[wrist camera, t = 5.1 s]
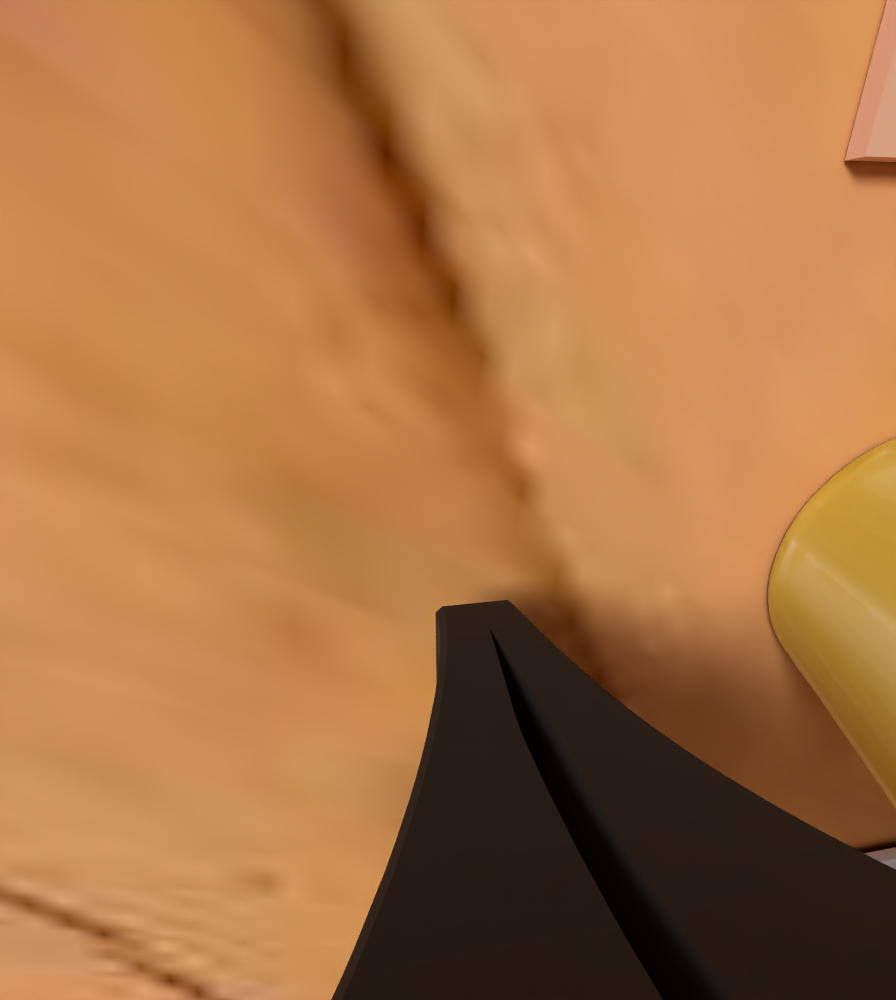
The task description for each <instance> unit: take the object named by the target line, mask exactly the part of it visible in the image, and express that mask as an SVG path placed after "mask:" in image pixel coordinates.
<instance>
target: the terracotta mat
mask: <svg viewBox="0 0 896 1000" xmlns="http://www.w3.org/2000/svg"><path fill="white" fill-rule="evenodd" d="M845 161H880V162H896V0H887V2H886V6H885V10H884V13H883V17H882V21H881V25H880V28H879V32H878V36H877V40H876V44H875V47H874V51H873V55H872V59H871V63H870V66H869V70H868V74H867V78H866V81H865V85H864V89H863V93H862V97H861V100H860V104H859V108H858V112H857V116H856V119H855V123H854V127H853V131H852V134H851V138H850V142H849V146H848V150H847V153H846V157H845Z"/></svg>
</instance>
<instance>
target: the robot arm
mask: <svg viewBox="0 0 896 1000" xmlns="http://www.w3.org/2000/svg"><path fill="white" fill-rule="evenodd" d="M436 667H437V685H436V692H435V698H434V703H433V708H432V713H431V718H430V723H429V728H428V733H427V738H426V742H425V746H424V750H423V754H422V758H421V762H420V765H419V769H418V773H417V776H416V779H415V783H414V786H413V790H412V793H411V797H410V800H409V803H408V806H407V809H406V812H405V815H404V818H403V821H402V824H401V827H400V830H399V833H398V836H397V839H396V842H395V845H394V848H393V851H392V854H391V856H390V859H389V862H388V865H387V867H386V870H385V873H384V875H383V878H382V880H381V883H380V885H379V888H378V890H377V893H376V895H375V898H374V900H373V903H372V905H371V908H370V910H369V913H368V915H367V918H366V920H365V923H364V925H363V928H362V930H361V933H360V935H359V938H358V940H357V943H356V945H355V948H354V950H353V952H352V955H351V957H350V959H349V962H348V964H347V966H346V969H345V971H344V973H343V976H342V978H341V980H340V982H339V984H338V986H337V989H336V991H335V993H334V995H333V997H332V1000H896V847H894V848H889V849H884V850H878V851H873V852H868V853H862V852H860V851H858V850H856V849H855V848H853V847H851V846H849V845H847V844H845V843H843V842H841V841H839V840H837V839H835V838H833V837H831V836H829V835H828V834H826V833H824V832H822V831H820V830H818V829H816V828H814V827H813V826H811V825H809V824H807V823H805V822H804V821H802V820H800V819H798V818H796V817H794V816H793V815H791V814H789V813H787V812H785V811H784V810H782V809H780V808H778V807H777V806H775V805H773V804H771V803H770V802H768V801H766V800H765V799H763V798H761V797H760V796H758V795H756V794H755V793H753V792H751V791H750V790H748V789H746V788H745V787H743V786H741V785H740V784H738V783H736V782H735V781H733V780H731V779H730V778H728V777H726V776H725V775H723V774H722V773H720V772H718V771H717V770H715V769H714V768H712V767H711V766H709V765H707V764H706V763H704V762H703V761H701V760H700V759H698V758H697V757H695V756H694V755H692V754H691V753H689V752H688V751H686V750H685V749H684V748H682V747H681V746H679V745H678V744H676V743H675V742H673V741H672V740H671V739H669V738H668V737H666V736H665V735H663V734H662V733H660V732H659V731H657V730H656V729H655V728H653V727H652V726H651V725H649V724H648V723H647V722H645V721H644V720H642V719H641V718H640V717H638V716H637V715H636V714H635V713H633V712H632V711H631V710H629V709H628V708H627V707H626V706H624V705H623V704H622V703H621V702H619V701H618V700H617V699H616V698H614V697H613V696H612V695H611V694H609V693H608V692H607V691H606V690H605V689H603V688H602V687H601V686H600V685H599V684H597V683H596V682H595V681H594V680H593V679H592V678H590V677H589V676H588V675H587V674H586V673H585V672H584V671H583V670H582V669H580V668H579V667H578V666H577V665H576V664H575V663H574V662H573V661H571V660H570V659H569V658H568V657H567V656H566V655H565V654H564V653H563V652H562V651H560V650H559V649H558V648H557V647H556V646H555V645H554V644H553V643H552V642H551V641H550V640H549V639H548V638H547V637H546V636H545V635H544V634H543V633H541V632H540V631H539V630H538V629H537V628H536V627H535V626H534V625H533V624H532V623H531V622H530V621H529V620H528V619H527V618H526V617H525V616H524V615H523V614H522V613H521V612H520V611H519V610H518V609H517V608H516V607H515V606H514V605H513V604H512V603H511V602H509V601H508V600H503V601H493V602H483V603H473V604H463V605H453V606H443V607H441V608H440V609H439V610H438V611H437V612H436Z"/></svg>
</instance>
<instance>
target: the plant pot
mask: <svg viewBox="0 0 896 1000" xmlns="http://www.w3.org/2000/svg"><path fill="white" fill-rule="evenodd" d="M768 608H769V614H770V620H771V623H772V626H773V629H774V632H775V634H776V636H777V638H778V639H779V641H780V643H781V645H782V646H783V648H784V649H785V651H786V652H787V654H788V655H789V657H790V658H791V659H792V661H793V662H794V664H795V665H796V667H797V668H798V669H799V671H800V672H801V674H802V675H803V676H804V678H805V679H806V680H807V682H808V683H809V684H810V686H811V687H812V689H813V690H814V691H815V693H816V694H817V696H818V697H819V699H820V700H821V701H822V703H823V704H824V706H825V707H826V709H827V710H828V712H829V713H830V714H831V716H832V717H833V719H834V720H835V722H836V723H837V725H838V726H839V728H840V729H841V730H842V732H843V733H844V735H845V736H846V738H847V739H848V741H849V742H850V743H851V745H852V746H853V748H854V749H855V751H856V752H857V754H858V755H859V757H860V758H861V760H862V761H863V762H864V764H865V765H866V767H867V768H868V770H869V771H870V773H871V774H872V776H873V777H874V779H875V780H876V781H877V783H878V784H879V786H880V787H881V789H882V790H883V792H884V793H885V795H886V796H887V797H888V799H889V800H890V802H891V803H892V805H893V806H894V808H895V809H896V438H893V439H891V440H889V441H887V442H885V443H883V444H881V445H879V446H876V447H874V448H873V449H871V450H870V451H868V452H866V453H865V454H863V455H861V456H860V457H858V458H857V459H855V460H854V461H853V462H851V463H850V464H848V465H847V466H846V467H844V468H843V469H842V470H840V471H839V472H838V473H837V474H836V475H834V476H833V477H832V478H831V479H830V480H829V481H828V482H826V483H825V484H824V485H823V486H822V487H821V488H820V489H819V490H818V491H817V492H816V493H815V494H814V495H813V496H812V497H811V498H810V500H809V501H808V502H807V503H806V504H805V506H804V507H803V508H802V509H801V511H800V512H799V513H798V514H797V516H796V517H795V519H794V521H793V522H792V524H791V525H790V527H789V529H788V530H787V532H786V534H785V536H784V538H783V540H782V542H781V544H780V547H779V549H778V551H777V553H776V556H775V560H774V563H773V566H772V570H771V573H770V579H769V584H768Z"/></svg>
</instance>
